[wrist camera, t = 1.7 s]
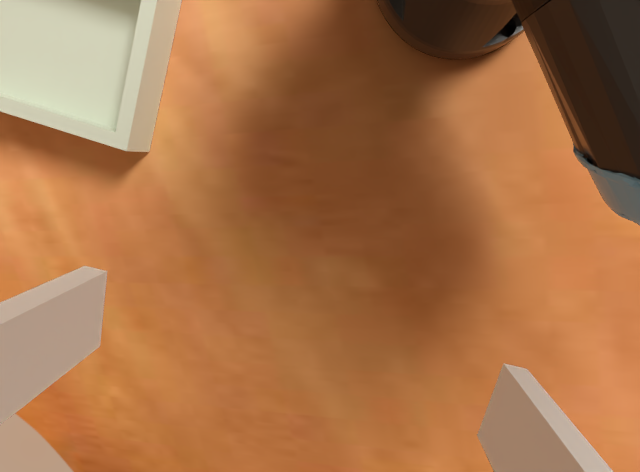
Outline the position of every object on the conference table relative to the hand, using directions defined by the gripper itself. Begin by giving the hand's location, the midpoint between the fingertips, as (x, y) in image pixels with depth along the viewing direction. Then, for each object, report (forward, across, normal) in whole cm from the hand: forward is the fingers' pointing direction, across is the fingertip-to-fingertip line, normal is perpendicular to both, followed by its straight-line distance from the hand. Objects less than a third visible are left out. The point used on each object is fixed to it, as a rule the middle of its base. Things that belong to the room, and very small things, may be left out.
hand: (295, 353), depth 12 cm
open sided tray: (+24, -25, +10) cm, 36 cm away
